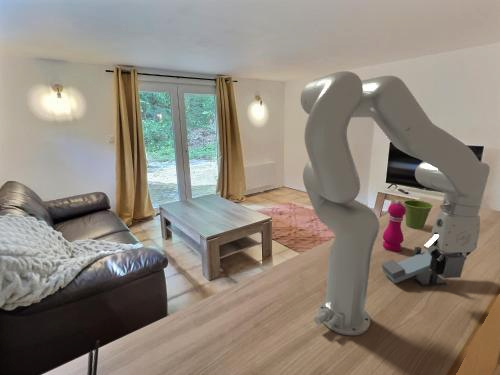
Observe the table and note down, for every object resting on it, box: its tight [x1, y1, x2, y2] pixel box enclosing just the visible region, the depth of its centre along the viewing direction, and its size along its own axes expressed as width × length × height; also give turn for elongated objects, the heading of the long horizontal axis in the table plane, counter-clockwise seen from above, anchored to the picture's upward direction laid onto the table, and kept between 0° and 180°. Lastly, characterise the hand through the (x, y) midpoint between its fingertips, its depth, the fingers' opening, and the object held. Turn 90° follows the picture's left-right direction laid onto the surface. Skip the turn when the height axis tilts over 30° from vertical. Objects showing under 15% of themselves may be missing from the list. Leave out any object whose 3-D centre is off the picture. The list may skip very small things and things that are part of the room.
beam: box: [381, 250, 432, 284], centre depth 84 cm, size 26×6×4 cm, turn 96°
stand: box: [410, 246, 448, 288], centre depth 85 cm, size 8×10×8 cm
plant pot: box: [403, 199, 434, 230], centre depth 124 cm, size 12×12×11 cm
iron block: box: [429, 250, 466, 279], centre depth 72 cm, size 5×5×6 cm
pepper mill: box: [382, 199, 406, 252], centre depth 103 cm, size 7×7×20 cm
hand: (444, 270), depth 73 cm, fingers closed on iron block, 5 cm apart
